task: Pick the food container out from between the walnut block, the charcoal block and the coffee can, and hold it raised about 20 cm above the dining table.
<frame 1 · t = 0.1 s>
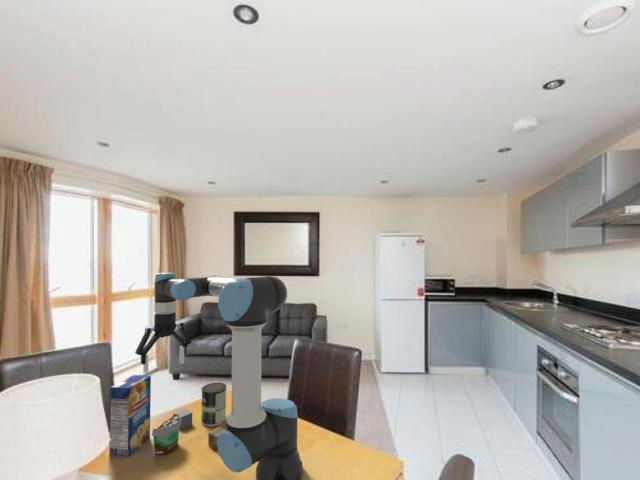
hand: (164, 367, 126), 28 cm above the table, fingers open, 13 cm apart
coffee can: (213, 420, 140), on the table
walnut block: (218, 445, 122), on the table
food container: (170, 449, 120), on the table
juice carton: (130, 446, 122), on the table
charcoal block: (183, 425, 137), on the table
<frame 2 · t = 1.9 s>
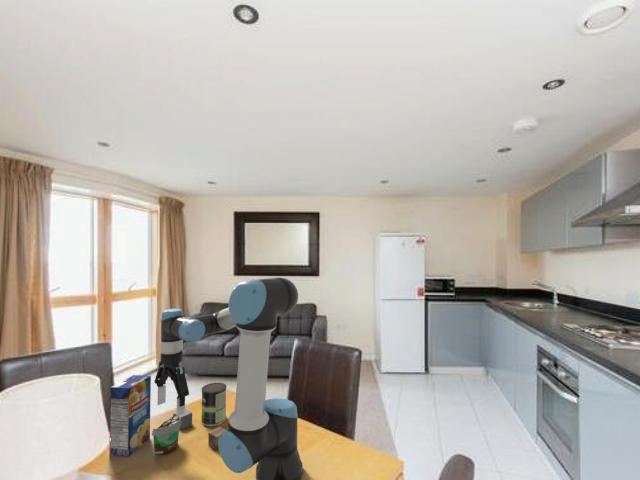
hand: (170, 409, 121), 14 cm above the table, fingers open, 13 cm apart
nothing on the table moved.
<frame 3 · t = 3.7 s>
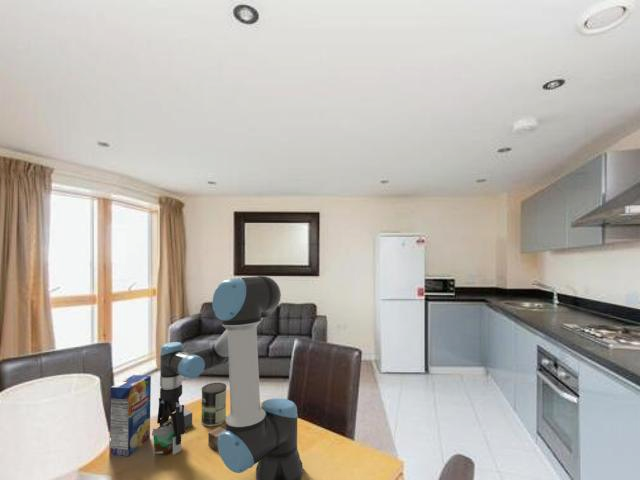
hand: (170, 448, 120), 0 cm above the table, fingers open, 8 cm apart
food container: (170, 449, 120), on the table, touching gripper
everything else where it was.
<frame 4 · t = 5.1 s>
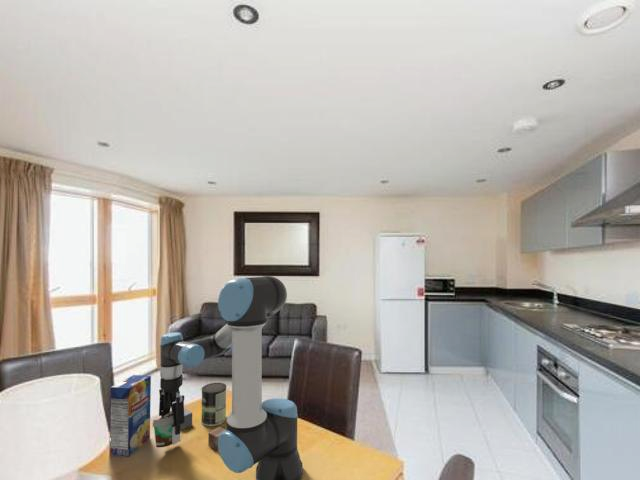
hand: (171, 439, 120), 4 cm above the table, fingers closed on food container, 6 cm apart
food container: (172, 441, 119), point 3 cm above the table, touching gripper
everything else where it was.
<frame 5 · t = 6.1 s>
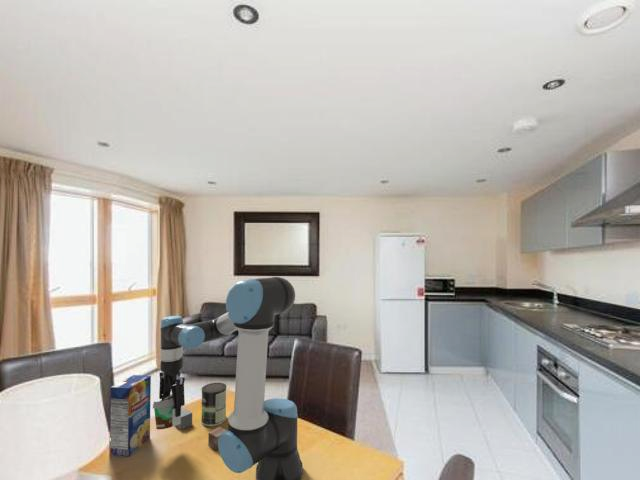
hand: (171, 421, 120), 10 cm above the table, fingers closed on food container, 6 cm apart
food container: (173, 424, 120), point 9 cm above the table, touching gripper
everything else where it was.
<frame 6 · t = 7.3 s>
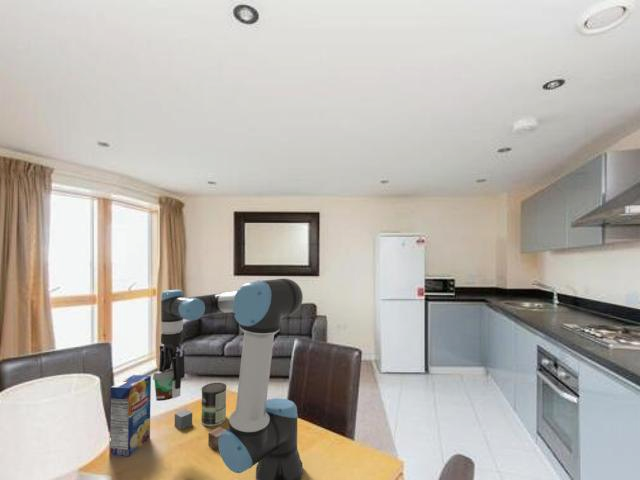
hand: (171, 394, 121), 20 cm above the table, fingers closed on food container, 6 cm apart
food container: (172, 396, 120), point 19 cm above the table, touching gripper
everything else where it was.
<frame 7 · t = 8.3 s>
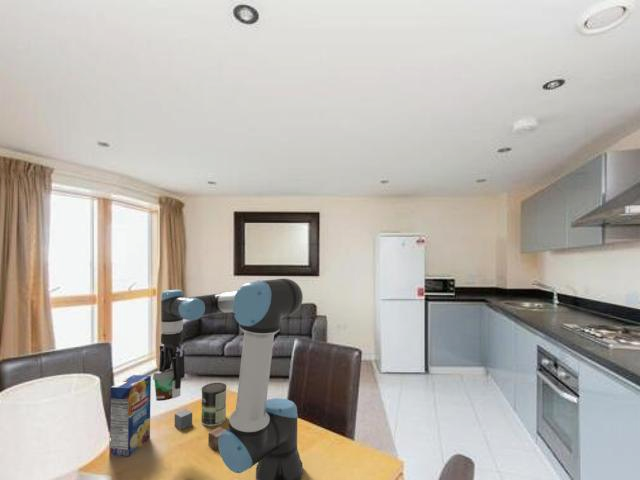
hand: (171, 394, 121), 20 cm above the table, fingers closed on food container, 6 cm apart
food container: (172, 396, 120), point 19 cm above the table, touching gripper
everything else where it was.
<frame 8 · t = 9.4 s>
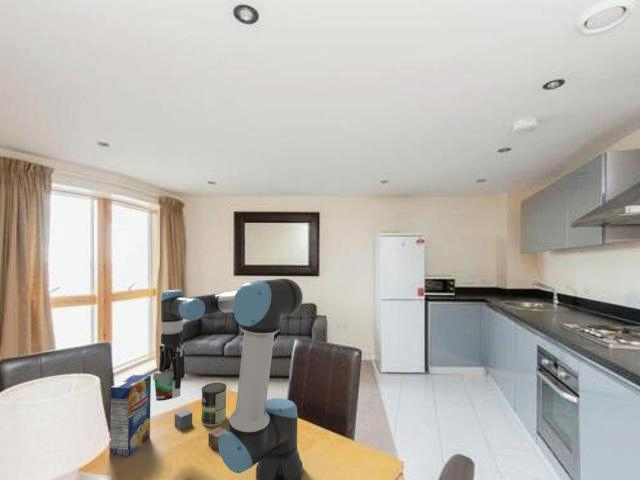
hand: (171, 394, 121), 20 cm above the table, fingers closed on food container, 6 cm apart
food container: (172, 396, 120), point 19 cm above the table, touching gripper
everything else where it was.
at the end: the gripper is holding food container; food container point 19.3 cm above the table; walnut block moved 0.1 cm from its start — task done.
